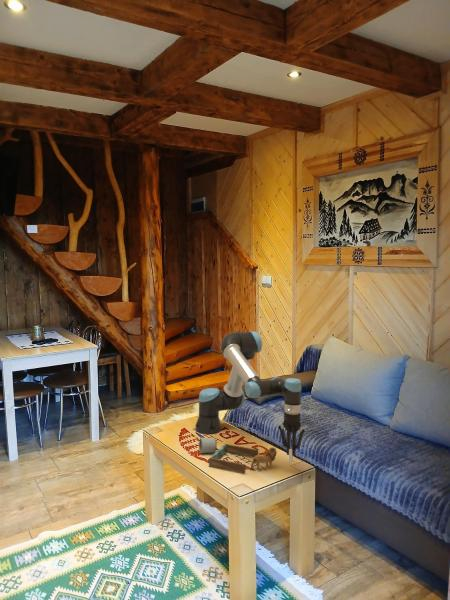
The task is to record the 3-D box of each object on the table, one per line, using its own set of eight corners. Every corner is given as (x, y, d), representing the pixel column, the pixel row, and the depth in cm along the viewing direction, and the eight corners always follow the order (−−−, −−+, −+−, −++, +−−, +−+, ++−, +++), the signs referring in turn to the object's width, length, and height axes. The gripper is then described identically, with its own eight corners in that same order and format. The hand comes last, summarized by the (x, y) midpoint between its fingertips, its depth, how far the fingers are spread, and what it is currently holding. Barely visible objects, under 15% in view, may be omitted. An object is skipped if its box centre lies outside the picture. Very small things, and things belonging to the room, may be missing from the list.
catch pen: (225, 451, 242) (225, 443, 242) (258, 457, 235) (258, 449, 235) (208, 466, 223) (209, 458, 223) (244, 473, 217) (244, 465, 216)
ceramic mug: (217, 454, 238) (217, 439, 237) (201, 455, 236) (201, 440, 235) (212, 446, 248) (212, 432, 248) (197, 448, 246) (197, 433, 245)
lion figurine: (272, 463, 229) (272, 445, 228) (278, 467, 224) (279, 449, 224) (247, 469, 222) (247, 450, 221) (253, 473, 217) (253, 454, 216)
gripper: (276, 412, 216) (275, 462, 217) (304, 416, 211) (302, 467, 212) (280, 408, 223) (279, 456, 224) (308, 412, 217) (306, 461, 219)
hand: (290, 461), depth 218 cm, fingers closed
